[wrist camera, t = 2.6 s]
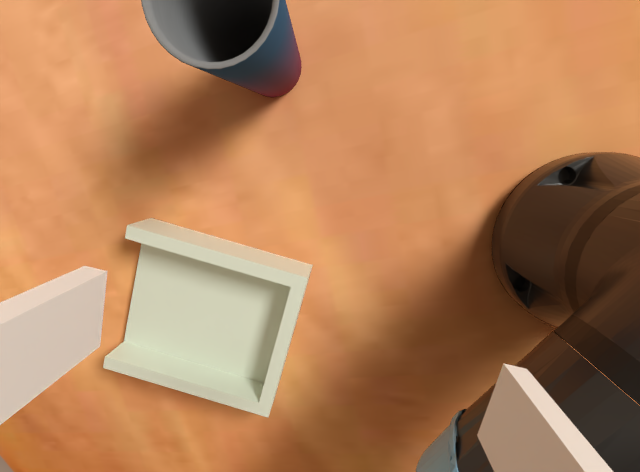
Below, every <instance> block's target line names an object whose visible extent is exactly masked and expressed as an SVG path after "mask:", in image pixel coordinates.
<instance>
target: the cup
mask: <svg viewBox="0 0 640 472" xmlns="http://www.w3.org/2000/svg"><path fill="white" fill-rule="evenodd" d="M141 2H142V7H143V11H144V14H145V18H146V20H147V23H148V25H149V27H150V29H151V31H152V33H153V34H154V36H155V37H156V39H157V40H158V41H159V43H160V44H161V45H162V46H163V47H164V48H165V49H166V50H167V51H168V52H169V53H170V54H171V55H172V56H174V57H175V58H177V59H178V60H180V61H181V62H183V63H186V64H188V65H191V66H193V67H195V68H198V69H200V70H203V71H205V72H208V73H210V74H213V75H215V76H217V77H220V78H222V79H225V80H227V81H230V82H232V83H235V84H237V85H239V86H242V87H244V88H247V89H249V90H252V91H254V92H257V93H259V94H261V95H264V96H268V97H278V96H282V95H284V94H286V93H288V92H289V91H290V90H291V89H292V88H293V87H294V86H295V85H296V83H297V81H298V80H299V77H300V73H301V59H300V54H299V51H298V47H297V43H296V39H295V35H294V31H293V28H292V24H291V20H290V16H289V12H288V9H287V5H286V1H285V0H141Z"/></svg>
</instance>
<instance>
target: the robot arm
mask: <svg viewBox="0 0 640 472" xmlns="http://www.w3.org/2000/svg"><path fill="white" fill-rule="evenodd" d="M492 256H493V262H494V267H495V270H496V273H497V275H498V278H499V280H500V282H501V283H502V285H503V287H504V288H505V289H506V291H507V292H508V293H509V294H510V296H511V297H512V298H513V299H514V300H515V301H516V302H518V303H519V304H520V305H521V306H522V307H523V308H525V309H526V310H527V311H528V312H529V313H531V314H532V315H534V316H535V317H537V318H539V319H540V320H542V321H544V322H546V323H548V324H551V325H553V326H556V327H558V328H557V329H556V330H554V332H555V333H554V332H551V333H550V334H549V335H548V336H547V337H546V338H545V339H544V340H543V341H542V342H540V343H539V344H538V345H537V346H536V347H535V348H534V349H533V350H532V351H531V352H529V353H528V354H527V355H526V356H525V357H524V358H523V359H522V360H521V361H520V362H518V363H517V364H516V365H515V366H513V365H508V364H504V363H503V366H502V369H501V371H500V374H499V377H498V380H497V382H496V383H495V384H494V385H493V386H492V387H491V388H490V389H489V390H488V391H487V392H485V393H484V394H483V395H482V396H481V397H480V398H479V399H478V400H477V401H476V402H474V403H473V404H472V405H471V406H470V407H469V408H468V409H464V410H462V411H458V412H457V413H456V414H455V415H454V417H453V418H452V421H451V423H450V425H449V426H448V427H447V428H446V429H445V430H444V431H443V432H442V433H441V434H440V435H439V437H438V438H437V439H436V440H435V441H434V442H433V443H432V444H431V445H430V446H429V447H428V448H427V449H426V450H425V451H424V453H423V454H422V456H421V458H420V460H419V462H418V465H417V468H416V472H640V406H639V405H640V157H637V156H633V155H628V154H622V153H610V152H603V153H581V154H575V155H570V156H566V157H563V158H560V159H557V160H555V161H552V162H550V163H548V164H546V165H544V166H542V167H541V168H539V169H537V170H536V171H534V172H533V173H531V174H530V175H529V176H528V177H526V178H525V179H524V180H523V181H522V182H521V183H520V184H519V185H518V186H517V187H516V188H515V189H514V190H513V192H512V193H511V194H510V195H509V197H508V198H507V200H506V201H505V203H504V205H503V206H502V208H501V210H500V212H499V215H498V217H497V220H496V223H495V227H494V231H493V237H492ZM106 281H107V271H105V270H100V269H96V268H92V267H88V266H83V267H81V268H79V269H76V270H74V271H72V272H69V273H67V274H65V275H62V276H60V277H58V278H56V279H53V280H51V281H49V282H46V283H44V284H42V285H39V286H37V287H35V288H33V289H30V290H28V291H26V292H23V293H21V294H19V295H16V296H14V297H12V298H10V299H7V300H5V301H3V302H0V425H1V424H2V423H4V422H5V421H6V420H7V419H9V418H10V417H11V416H12V415H14V414H15V413H16V412H17V411H19V410H20V409H21V408H23V407H24V406H25V405H26V404H28V403H29V402H30V401H31V400H33V399H34V398H35V397H36V396H38V395H39V394H40V393H42V392H43V391H44V390H45V389H47V388H48V387H49V386H50V385H52V384H53V383H54V382H55V381H57V380H58V379H59V378H61V377H62V376H63V375H64V374H66V373H67V372H68V371H69V370H71V369H72V368H73V367H74V366H76V365H77V364H78V363H80V362H81V361H82V360H83V359H85V358H86V357H87V356H88V355H90V354H91V353H92V352H93V351H95V350H96V349H97V348H99V347H100V342H101V332H102V321H103V311H104V301H105V291H106ZM561 338H562V339H563V340H562V339H561ZM566 342H567V343H568V344H569V345H570V346H569V345H568V344H567V343H566ZM571 346H572V347H573V348H574V349H575V350H576V351H577V352H576V351H575V350H574V349H573V348H572V347H571ZM578 352H579V353H580V354H581V355H582V356H583V357H584V358H583V357H582V356H581V355H580V354H579V353H578ZM585 358H586V359H587V360H588V361H589V362H590V363H591V364H593V365H594V366H595V367H596V368H597V369H598V370H600V371H601V372H602V373H603V374H604V375H606V376H607V377H608V378H609V379H610V380H611V381H612V382H614V383H615V384H616V385H617V386H618V387H619V388H620V389H619V388H618V387H617V386H616V385H615V384H614V383H612V382H611V381H610V380H609V379H608V378H607V377H605V376H604V375H603V374H602V373H601V372H600V371H598V370H597V369H596V368H595V367H594V366H593V365H591V364H590V363H589V362H588V361H587V360H586V359H585ZM621 389H622V390H623V391H624V392H625V393H626V394H627V395H629V396H630V397H631V398H632V399H633V400H635V401H636V402H637V403H638V404H639V405H638V404H637V403H636V402H634V401H633V400H632V399H631V398H630V397H629V396H627V395H626V394H625V393H624V392H623V391H622V390H621Z"/></svg>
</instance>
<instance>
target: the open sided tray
mask: <svg viewBox="0 0 640 472" xmlns="http://www.w3.org/2000/svg"><path fill="white" fill-rule="evenodd" d="M125 239H129V240H132V241H136V242H139V243H141V249H140V254H139V260H138V265H137V271H136V277H135V282H134V288H133V293H132V299H131V304H130V310H129V316H128V321H127V327H126V332H125V338H124V342H122V343H121V344H120V345H119V346H117V347H116V348H115V349H114V350H113V351H111V352H110V353H109V354H108V355H106V356H105V359H104V365H103V368H105V369H108V370H112V371H115V372H118V373H122V374H125V375H128V376H132V377H135V378H138V379H142V380H145V381H148V382H152V383H155V384H158V385H162V386H165V387H168V388H171V389H175V390H178V391H181V392H185V393H188V394H191V395H195V396H198V397H201V398H205V399H208V400H211V401H215V402H218V403H221V404H225V405H228V406H231V407H235V408H238V409H241V410H245V411H248V412H251V413H255V414H258V415H261V416H264V417H269V414H270V411H271V408H272V405H273V401H274V398H275V395H276V392H277V389H278V385H279V382H280V378H281V375H282V371H283V368H284V364H285V361H286V357H287V354H288V350H289V347H290V343H291V340H292V336H293V333H294V329H295V326H296V322H297V319H298V315H299V312H300V308H301V305H302V301H303V298H304V294H305V291H306V287H307V284H308V280H309V277H310V273H311V270H312V266H313V265H311V264H308V263H304V262H301V261H298V260H294V259H291V258H287V257H284V256H280V255H277V254H274V253H270V252H267V251H263V250H260V249H256V248H253V247H250V246H246V245H243V244H239V243H236V242H232V241H229V240H226V239H222V238H219V237H215V236H212V235H208V234H205V233H202V232H198V231H195V230H191V229H188V228H184V227H181V226H178V225H174V224H171V223H167V222H164V221H160V220H157V219H154V218H149V219H146V220H142V221H139V222H136V223H132V224H129V225H127V229H126V235H125Z"/></svg>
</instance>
